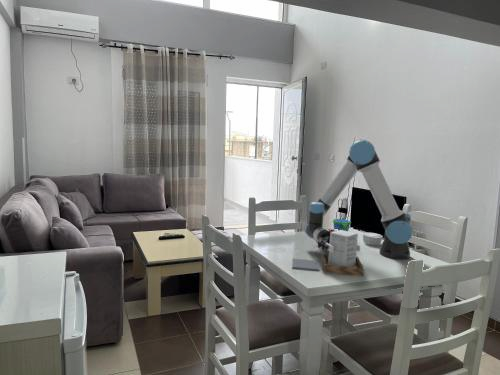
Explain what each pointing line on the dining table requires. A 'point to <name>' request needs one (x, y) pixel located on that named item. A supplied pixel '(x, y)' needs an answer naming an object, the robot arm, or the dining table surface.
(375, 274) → the dining table surface
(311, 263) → the grey pad
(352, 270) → the walnut crate
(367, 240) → the ramekin
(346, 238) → the supplement box
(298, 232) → the dining table surface
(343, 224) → the snack cup
